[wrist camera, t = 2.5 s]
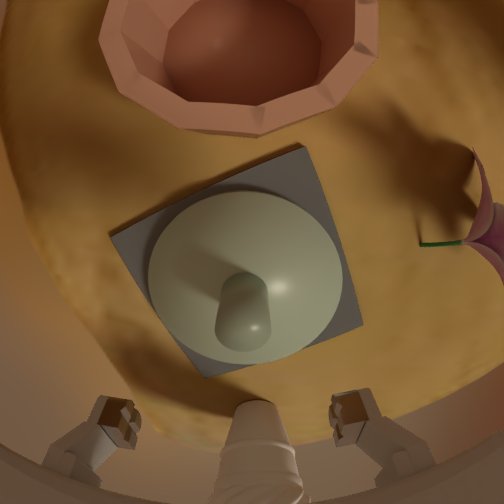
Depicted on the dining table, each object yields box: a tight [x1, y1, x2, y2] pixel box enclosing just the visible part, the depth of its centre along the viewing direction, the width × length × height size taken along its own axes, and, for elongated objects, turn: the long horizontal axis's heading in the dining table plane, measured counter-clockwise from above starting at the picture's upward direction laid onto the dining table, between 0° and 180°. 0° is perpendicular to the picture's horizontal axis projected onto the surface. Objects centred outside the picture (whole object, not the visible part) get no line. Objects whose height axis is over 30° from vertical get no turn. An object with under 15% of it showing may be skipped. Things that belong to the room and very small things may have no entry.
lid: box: [148, 190, 343, 364], centre depth 17 cm, size 13×13×5 cm
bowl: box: [98, 0, 378, 139], centre depth 10 cm, size 11×11×7 cm
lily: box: [420, 147, 504, 285], centre depth 14 cm, size 12×12×10 cm
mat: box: [111, 146, 363, 378], centre depth 19 cm, size 14×14×1 cm
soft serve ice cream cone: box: [207, 400, 311, 504], centre depth 17 cm, size 8×8×16 cm
